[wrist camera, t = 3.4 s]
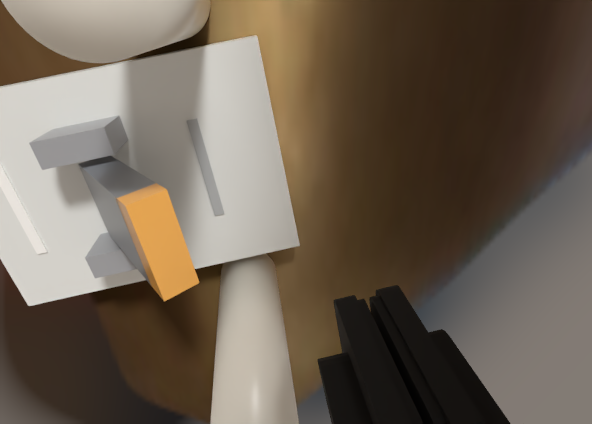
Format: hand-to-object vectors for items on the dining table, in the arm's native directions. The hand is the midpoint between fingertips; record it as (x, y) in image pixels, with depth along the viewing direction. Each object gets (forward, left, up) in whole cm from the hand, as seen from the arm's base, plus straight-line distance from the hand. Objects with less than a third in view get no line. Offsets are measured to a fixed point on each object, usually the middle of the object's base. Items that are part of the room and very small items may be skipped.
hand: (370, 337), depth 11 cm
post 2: (+5, +9, -17) cm, 20 cm away
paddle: (+11, 0, -14) cm, 18 cm away
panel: (+10, 0, -17) cm, 20 cm away
